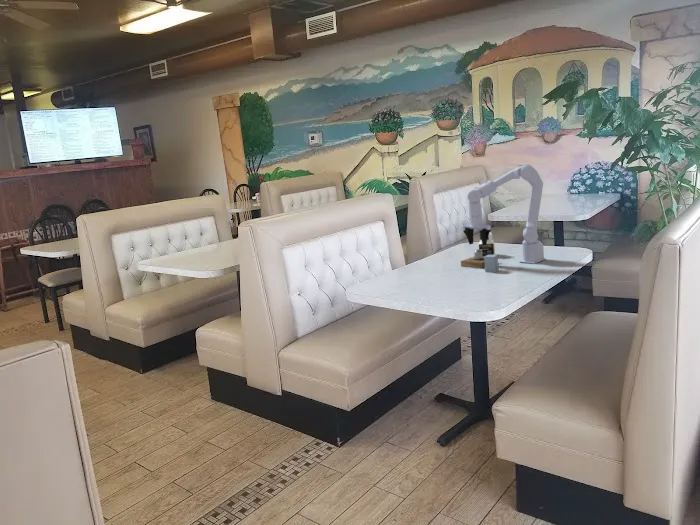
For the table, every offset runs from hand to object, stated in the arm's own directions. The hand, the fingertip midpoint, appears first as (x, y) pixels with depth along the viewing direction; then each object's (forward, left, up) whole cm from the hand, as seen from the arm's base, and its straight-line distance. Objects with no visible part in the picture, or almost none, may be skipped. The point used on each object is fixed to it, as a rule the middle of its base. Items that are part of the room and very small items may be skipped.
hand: (477, 244), depth 262 cm
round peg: (0, 0, -10) cm, 10 cm away
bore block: (0, 0, -10) cm, 10 cm away
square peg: (+8, +13, -10) cm, 18 cm away
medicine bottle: (-17, -8, -10) cm, 21 cm away
